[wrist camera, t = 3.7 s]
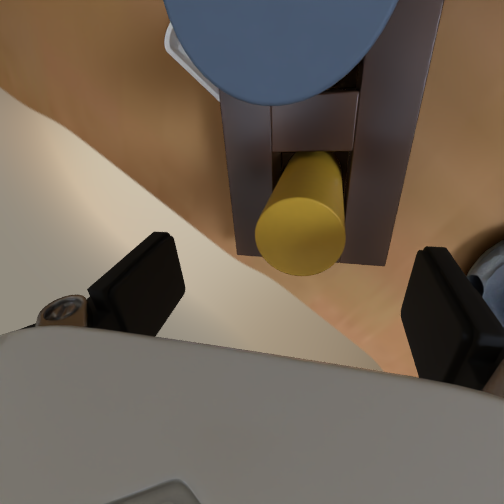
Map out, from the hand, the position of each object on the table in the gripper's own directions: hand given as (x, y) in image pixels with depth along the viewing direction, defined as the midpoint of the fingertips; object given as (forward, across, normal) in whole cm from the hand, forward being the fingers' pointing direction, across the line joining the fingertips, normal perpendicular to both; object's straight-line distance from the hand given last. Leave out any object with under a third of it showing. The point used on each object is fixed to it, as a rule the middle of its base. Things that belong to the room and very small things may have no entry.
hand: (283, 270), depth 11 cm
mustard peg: (+12, 0, 0) cm, 12 cm away
